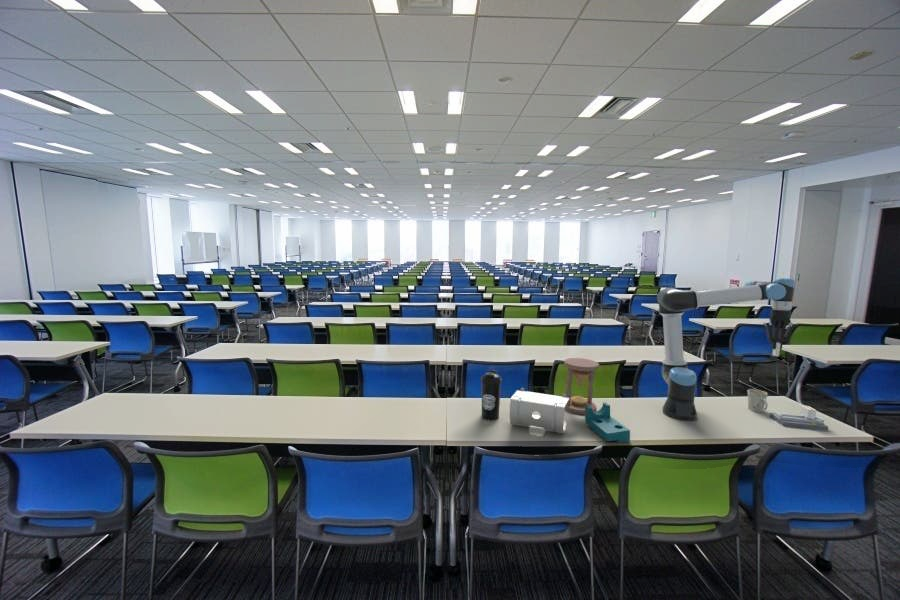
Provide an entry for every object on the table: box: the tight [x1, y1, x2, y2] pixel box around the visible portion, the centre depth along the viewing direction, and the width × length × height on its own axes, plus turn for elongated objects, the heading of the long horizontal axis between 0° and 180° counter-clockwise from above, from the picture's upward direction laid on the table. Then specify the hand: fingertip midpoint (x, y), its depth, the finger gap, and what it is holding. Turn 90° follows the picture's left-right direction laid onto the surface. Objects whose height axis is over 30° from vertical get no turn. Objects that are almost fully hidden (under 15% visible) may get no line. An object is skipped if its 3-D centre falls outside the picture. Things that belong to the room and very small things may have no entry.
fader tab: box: [800, 404, 817, 419], centre depth 183 cm, size 3×5×6 cm, turn 166°
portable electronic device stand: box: [509, 387, 570, 437], centre depth 176 cm, size 26×24×16 cm
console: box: [769, 411, 829, 431], centre depth 184 cm, size 18×11×4 cm, turn 76°
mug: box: [747, 388, 769, 413], centre depth 198 cm, size 8×13×10 cm, turn 174°
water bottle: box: [480, 369, 503, 421], centre depth 185 cm, size 10×10×23 cm
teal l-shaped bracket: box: [584, 401, 631, 444], centre depth 170 cm, size 18×11×10 cm, turn 10°
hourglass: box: [563, 357, 600, 415], centre depth 198 cm, size 18×18×25 cm
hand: (775, 355), depth 188 cm, fingers closed
